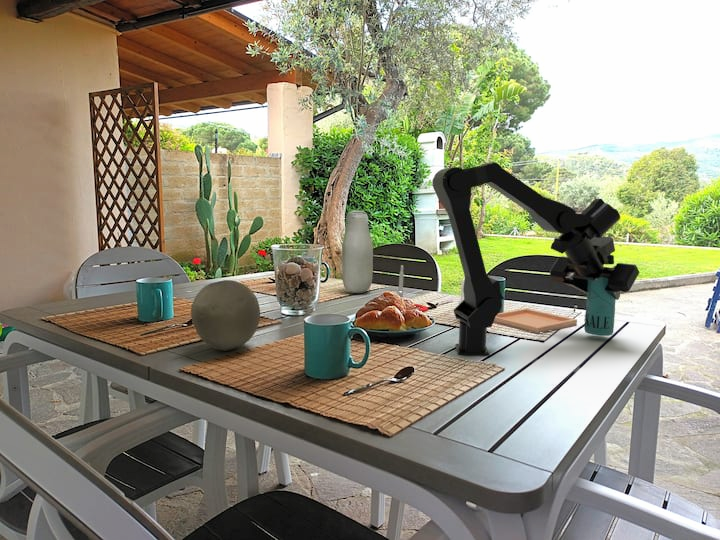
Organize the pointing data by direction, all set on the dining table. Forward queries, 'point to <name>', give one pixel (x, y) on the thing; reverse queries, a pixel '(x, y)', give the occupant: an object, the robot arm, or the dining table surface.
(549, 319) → the tray
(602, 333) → the beverage bottle
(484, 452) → the dining table surface
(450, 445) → the dining table surface
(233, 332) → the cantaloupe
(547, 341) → the dining table surface
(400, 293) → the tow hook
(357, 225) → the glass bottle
